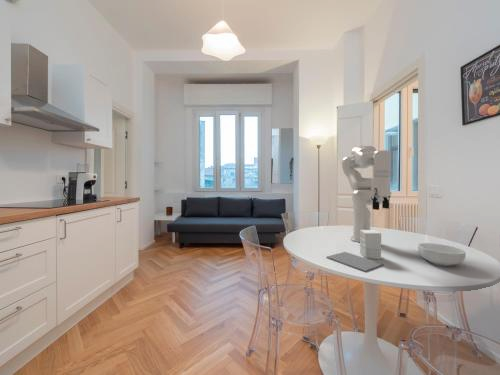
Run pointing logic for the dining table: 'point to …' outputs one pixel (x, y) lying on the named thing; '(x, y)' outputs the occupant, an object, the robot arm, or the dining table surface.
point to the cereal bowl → (441, 254)
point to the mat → (355, 261)
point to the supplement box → (370, 244)
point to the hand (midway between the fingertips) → (380, 208)
